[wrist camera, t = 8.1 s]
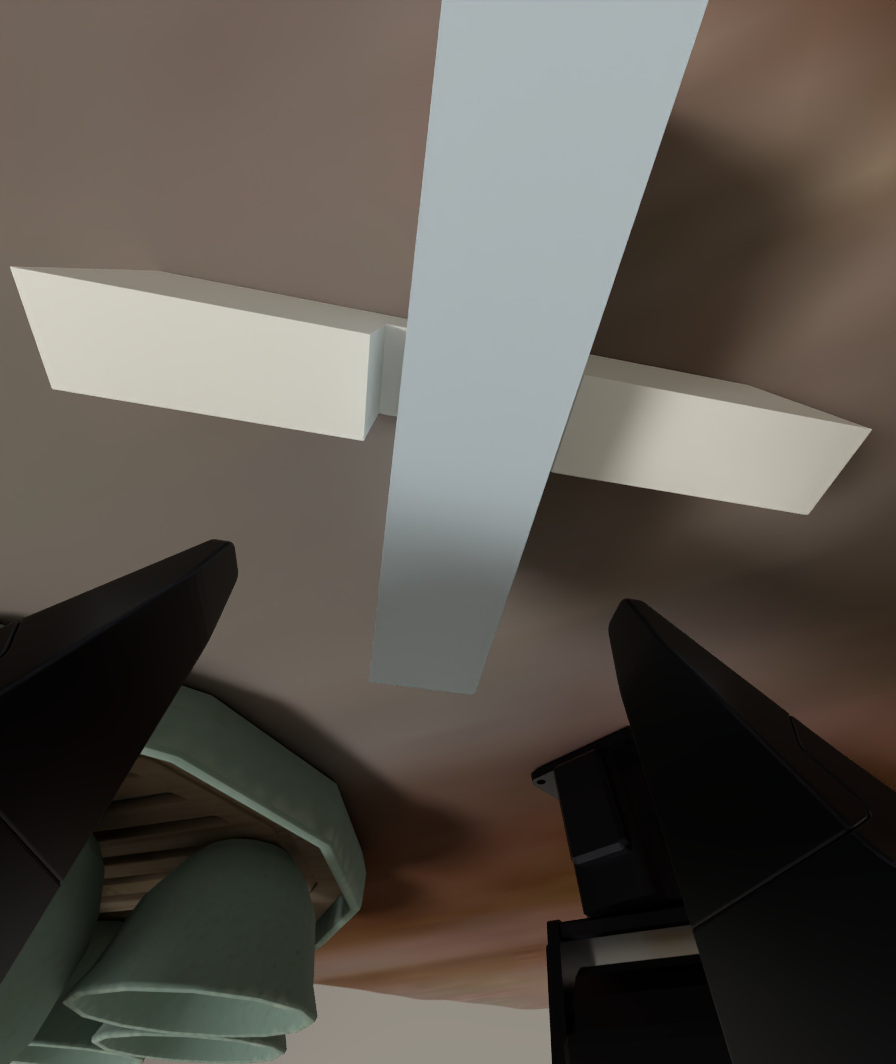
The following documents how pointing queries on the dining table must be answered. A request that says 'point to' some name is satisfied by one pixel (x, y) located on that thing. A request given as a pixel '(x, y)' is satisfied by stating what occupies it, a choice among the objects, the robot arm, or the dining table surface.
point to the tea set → (190, 906)
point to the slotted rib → (375, 378)
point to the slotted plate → (509, 296)
